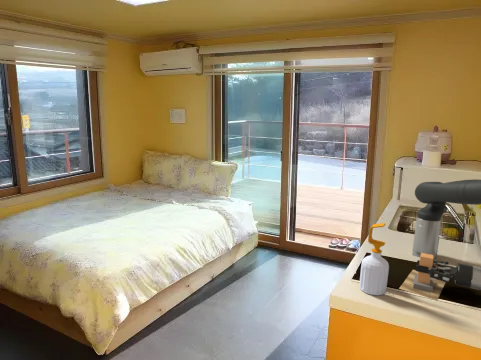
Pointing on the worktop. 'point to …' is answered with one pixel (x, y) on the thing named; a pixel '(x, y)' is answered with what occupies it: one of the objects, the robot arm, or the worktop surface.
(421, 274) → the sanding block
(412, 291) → the oak board
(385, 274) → the soap bottle
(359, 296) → the worktop surface
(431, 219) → the robot arm
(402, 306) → the worktop surface
